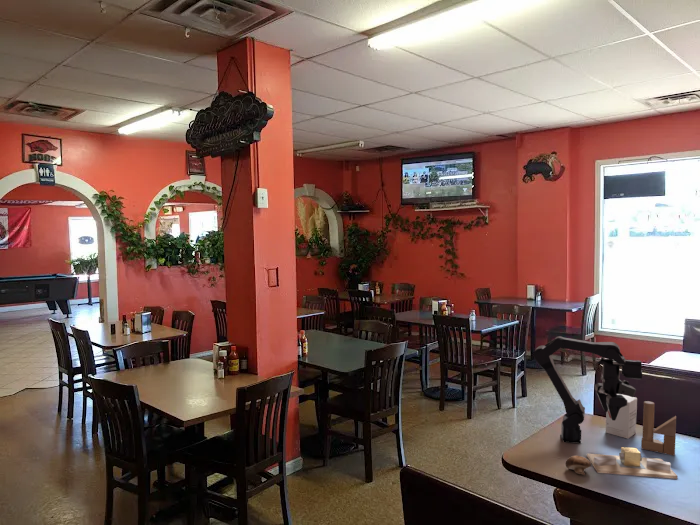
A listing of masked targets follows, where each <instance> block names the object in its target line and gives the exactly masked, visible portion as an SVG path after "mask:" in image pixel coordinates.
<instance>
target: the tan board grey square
mask: <svg viewBox="0 0 700 525" xmlns="http://www.w3.org/2000/svg"><path fill="white" fill-rule="evenodd" d="M586 456H587V459H588V460H589V461H590V463H591V466H593V468H594V469H595V471H596V473H597V474H599V473H600V474H609V475H610V474H612V475H622V476H623V475H625V476H635V477H636V476H637V477H651V478H664V479H674V480H675V479H676V480H677V479H678V474H676V472H675V471H674V470H672V467H671V465H672V464H671V462H669V461H664V460H663V459H662V458H656V457H654V458H653V457H642V461H640V467H634V466H624V465H623V463H622V462H621V460H620V458H619V455H612V454H611V455H610V454H601V453H597V454H596V453H586Z"/></svg>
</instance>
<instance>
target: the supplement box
mask: <svg viewBox="0 0 700 525" xmlns="http://www.w3.org/2000/svg"><path fill="white" fill-rule="evenodd" d="M617 395H622V396H623V397H624V398H625V399H626V400H627V406H625V407H622V408H620V410H619V412H618V415H617V417H616V420H615V421H614V420H612V419H611V416H610V413H609V410H608V412H605V414H606V415H605V416H606V417H605V433H606V434H610V435H614V436H617V437H621V438H625V439H627V440H628V439H630V438H631V437H633V435H635V434H636V432H637V430H636V428H637V410H638V398H637V397H636V396H635V397H634V396H633V397H630V396H629V395H627V394H623V393H622V394H617Z"/></svg>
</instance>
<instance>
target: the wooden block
mask: <svg viewBox="0 0 700 525" xmlns="http://www.w3.org/2000/svg"><path fill="white" fill-rule="evenodd" d="M642 415H643V417H642V438H641V442H640V445H641V446H640V449H642V450H645V451H650V452H655V453H660V454H664V455H667V456H668V455H669V456H673V457H674V456H675V454H676V431H677V430H676V429H677V416H676V415H675V416H672V417H671V418H670V419H667V421H665V422H664V423H662V424H660V425H659V426H657V427H656V428H655V402H653V401H649V400H647V401H646V400H645V401H643V414H642ZM654 434H657V435H661V436H662V435H663V442H662V441H660V440H658V439H655V438H654Z"/></svg>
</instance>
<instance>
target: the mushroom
mask: <svg viewBox="0 0 700 525" xmlns="http://www.w3.org/2000/svg"><path fill="white" fill-rule="evenodd" d="M565 466H566V468H567V469H569V470H573V471H574V472H575V473H576V474H578V475H582V476H585V475H586V473H585V471H586V469H589V468H591V466H592V463H591V461H590V460H589V458H586V457H584V456H580V455H572V456H570V457H568V458H567V459H566V461H565Z"/></svg>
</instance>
